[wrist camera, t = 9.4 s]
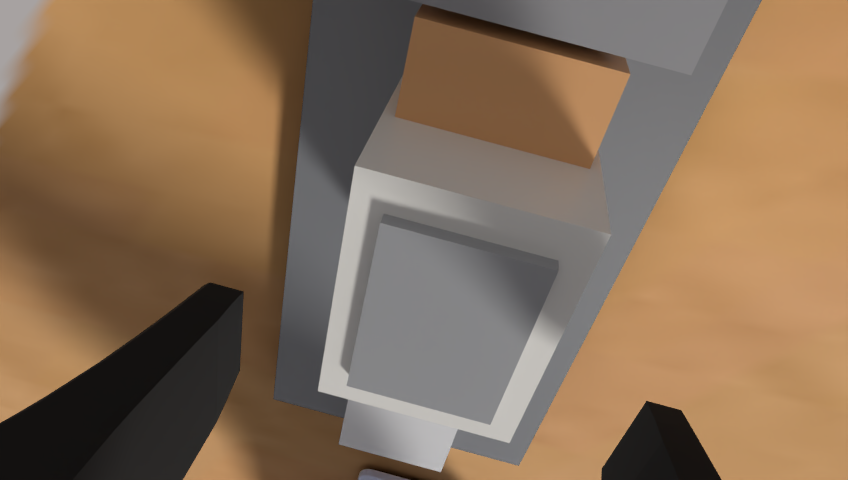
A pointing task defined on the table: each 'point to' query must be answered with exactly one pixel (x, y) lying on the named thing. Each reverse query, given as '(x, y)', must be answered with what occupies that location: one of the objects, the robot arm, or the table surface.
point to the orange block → (509, 86)
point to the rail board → (619, 156)
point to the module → (457, 274)
